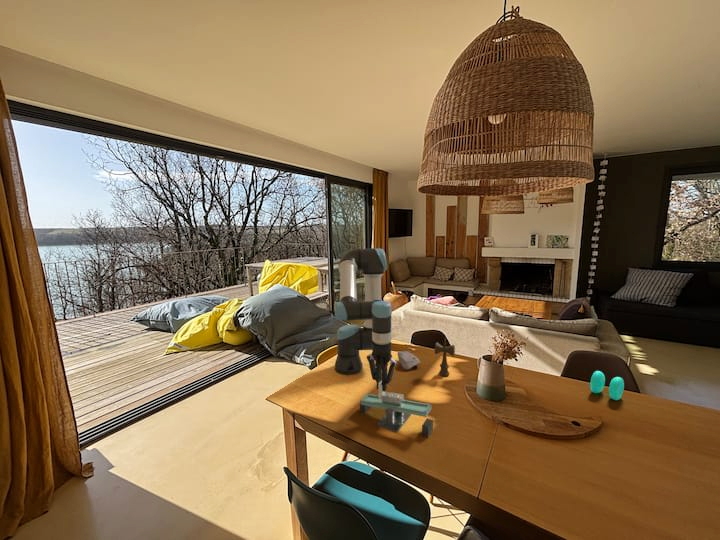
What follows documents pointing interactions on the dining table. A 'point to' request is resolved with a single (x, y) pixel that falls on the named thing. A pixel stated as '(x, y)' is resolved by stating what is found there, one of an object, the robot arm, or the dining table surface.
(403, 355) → the decorative stone
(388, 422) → the stand
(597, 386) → the teal egg pair
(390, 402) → the block
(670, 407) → the dining table surface
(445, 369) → the kendama
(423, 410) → the beam
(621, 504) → the dining table surface
